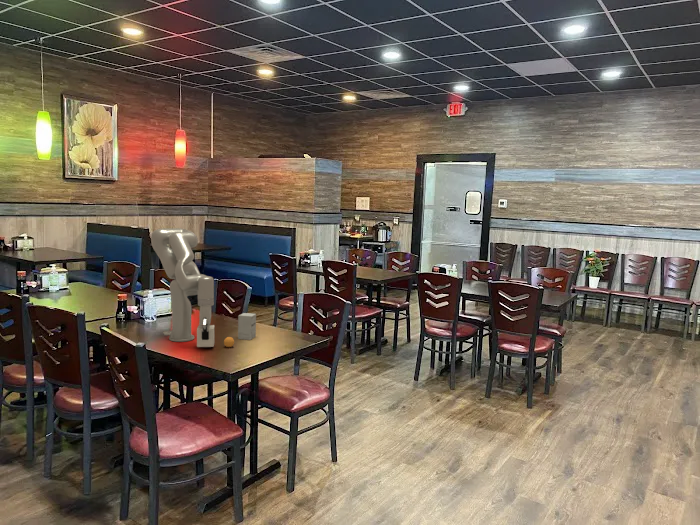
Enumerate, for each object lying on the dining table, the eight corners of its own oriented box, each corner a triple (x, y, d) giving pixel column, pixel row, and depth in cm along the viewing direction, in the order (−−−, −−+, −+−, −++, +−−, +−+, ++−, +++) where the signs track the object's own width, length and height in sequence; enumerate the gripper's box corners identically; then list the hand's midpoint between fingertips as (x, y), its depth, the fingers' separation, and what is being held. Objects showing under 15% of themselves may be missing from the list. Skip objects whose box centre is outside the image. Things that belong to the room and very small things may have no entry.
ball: (223, 348, 267) (223, 338, 266) (223, 345, 272) (224, 335, 271) (234, 348, 268) (234, 338, 267) (234, 345, 273) (234, 335, 272)
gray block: (197, 347, 263) (196, 329, 262) (198, 342, 270) (198, 325, 269) (213, 346, 264) (213, 328, 263) (214, 342, 272) (214, 325, 270)
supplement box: (250, 340, 284) (251, 316, 282) (237, 339, 285) (237, 315, 284) (256, 336, 291) (256, 313, 290) (243, 335, 292) (243, 312, 291)
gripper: (199, 298, 273) (199, 333, 274) (196, 305, 256) (196, 342, 257) (214, 298, 274) (215, 333, 276) (212, 305, 257) (212, 341, 259)
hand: (206, 337), depth 267 cm, fingers closed on gray block, 7 cm apart
